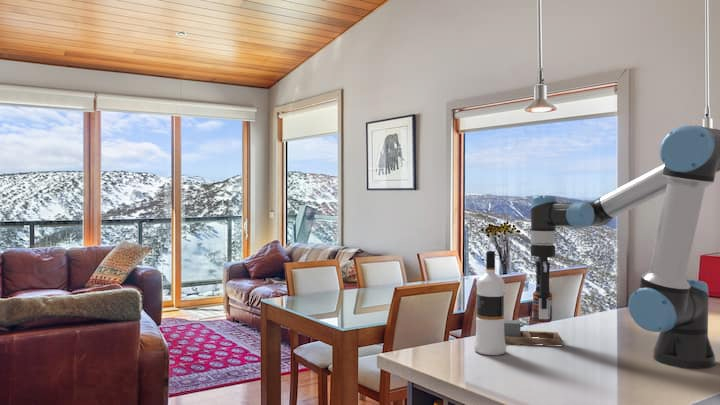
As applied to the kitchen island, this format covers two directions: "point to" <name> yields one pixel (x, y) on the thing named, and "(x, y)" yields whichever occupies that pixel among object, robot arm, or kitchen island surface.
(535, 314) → the supplement bottle
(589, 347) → the kitchen island surface
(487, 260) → the vodka
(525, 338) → the brown wooden frame
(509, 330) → the block
